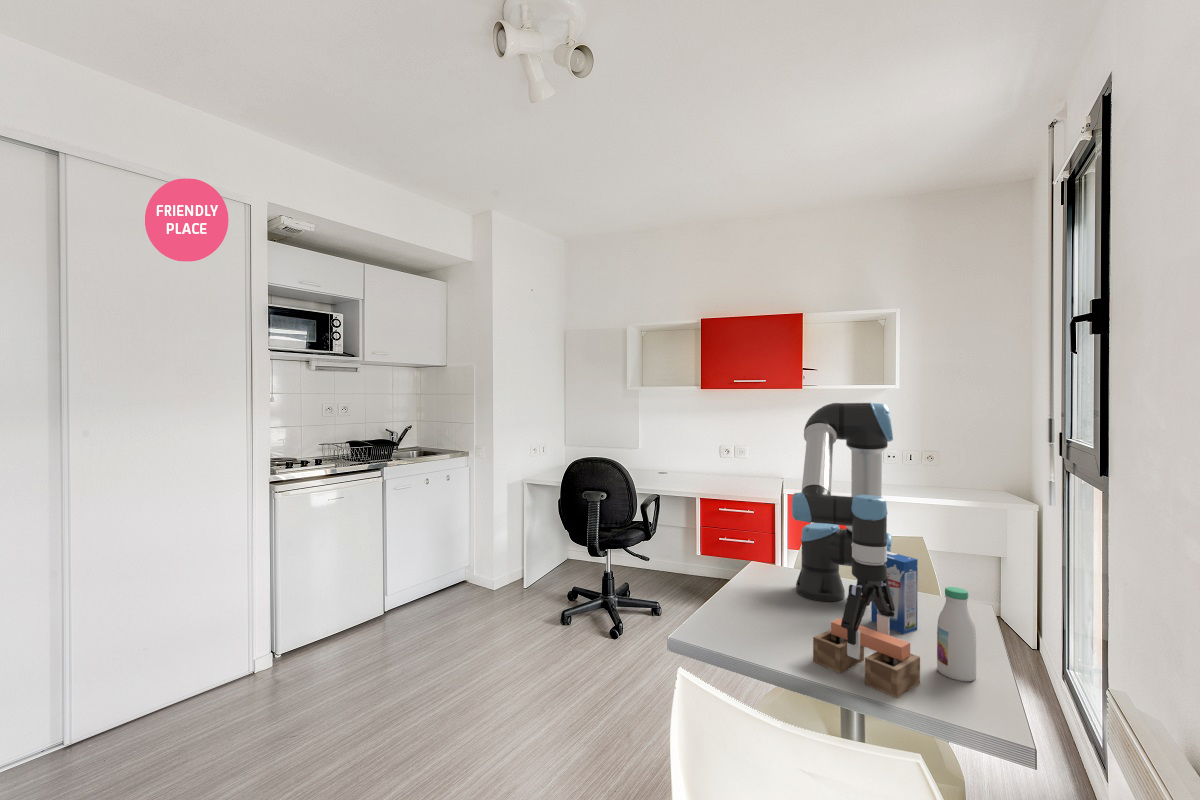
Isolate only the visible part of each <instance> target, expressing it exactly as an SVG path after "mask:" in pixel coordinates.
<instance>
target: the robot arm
mask: <svg viewBox="0 0 1200 800" xmlns="http://www.w3.org/2000/svg"><path fill="white" fill-rule="evenodd" d="M803 439H804V441H805V442H806V444H805V453H804V463H803V474H802V484H801V492H794V493H793V495H792V499H791V514H792V518H793V519H794V520H795V521H799V522H804V523H809V524H806V525H804V526H803V527H802V529H801V538H800V541H801V568H800V572H799V575H798V577H797V579H796V583H795V592H796V593H797V594H799V596H802V597H803V598H806V599H809V600H814V601H818V602H819V601H821V602H839V601H842V600H844V599H845V597H846V593H845V587H844V584H843V582H842V579H841V575H840V566H845V567H851V574H852V577H855V579H856V580H857V581H856V585H854V584H849V586H848V595H847V599H846V602H845V603H846V604H845V605H844V606H845V607H844V610H843V616H842V618H841V619H842V622H841V627H843V628H846V629H847V655H848V656H850V657H853V658H855V659H858V660H859V659H860V630H858V628H859V625H861V622H862V620H863V617H864V615H865V612H866V609H867V607H868V606H870V604H871V601H872V600H873V602H874V603H875V605H876V607H877V609H878V611H879V613H881V614H877V623H876V631H878V632H881V633H883V634H886V635H889V636H891V635H890V632H891V631H890V630H891V629H890V617H889V616H891V617H894V611H895V607H894V604H893V600H892V596H891V593H890V589H889V585H888V577H887V565H886V564H885V562H886V561H887V551H889V552H892V542H893V541H892V534H890V533H888V532H887V529H888V527H887V525H888V517H887V516H888V508H887V500H886V499H885V498H884V497H882V485H883V483H882V482H883V481H882V480H883V479H882V477H883V476H882V474H883V473H882V472H883V470H882V469H883V468H882V467H883V461H882V460H883V451H884V450H886V449H887V448H888V442H892V441H893V440H894V437H893V427H892V420H891V413H890V410H889V406H888V405H886V404H885V403H876V402H832V403H829V404H826V405H823V406H822V407H820V408H818V409H817V410H815V412H813V413H812V414H811V415H810V417H809V418H808V420H806V423H805V426H804V428H803ZM837 440H843V441H846V442H845V445H846V447H847V448H849V449H850V451H851V468H850V469H851V470H850V471H851V474H850V475H851V486H850V487H851V488H850V489H851V495H850V496H847V495H845V496H844V495H832V479H833V456H834V454H833V452H834V451H833V450H834V444H835V443H836V442H837ZM840 526H845V528H842V529H841V528H840ZM887 604H889V605H887ZM891 611H892V612H891Z"/></svg>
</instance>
